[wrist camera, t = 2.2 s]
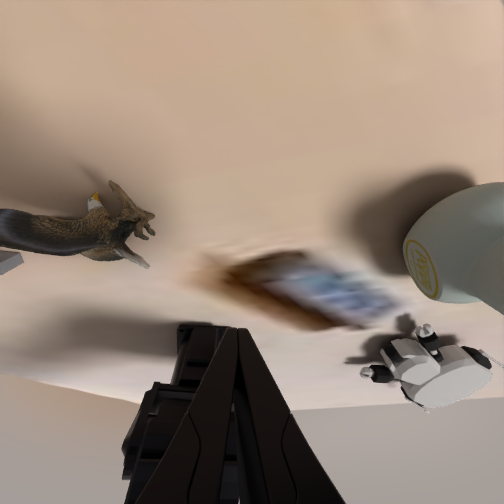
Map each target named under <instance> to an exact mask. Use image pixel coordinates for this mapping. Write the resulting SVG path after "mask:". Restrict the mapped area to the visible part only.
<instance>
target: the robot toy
mask: <svg viewBox="0 0 504 504" xmlns="http://www.w3.org/2000/svg"><path fill="white" fill-rule="evenodd" d="M423 326H424V327H423V328H421V326H419V327H417V328H416V332H415V333H416V335H417V338H418V340H419V342H420V343H418V342H417V341H416V340H411V339H406V338H403V339H401V340H400V339H396V340H393V341H391V343H392V345H391V344H389V345H387V346H385V348H384V350H383V348H382V349H381V351H380V353H381V355H382V356H383V359H384V361H385V363H386V364H387V366H388V368H387V367H386V366H384V365H371V366H370V367H363V368H362V370H361V372H360V376H361V377H362V378H365V379H368V378H371V379H372V380H373V382H376V383H388V382H389V381H391V380H392V379H394V378H397V379H399V381H400V383H401V385H402V386H401V390H402V392H403V393H404V395H405V398H406V400H408V401H409V402H410V401H411V402H412V403H414V404H416V405H417V406H418V407H420V408H421V409H423V410H424V411H425V412H426V413H429V411H428V410H427V409H425V408H423V407H422V406H427V407H429V408H435V407H443V406H446V405H449V404H452V403H454V402H457V401H459V400H461V399H464V398H466V397H468V396H470V395H471V394H473V393H475V392H476V391H478V390H479V389H481V388H482V387H483V386H484V385H486V384H487V383H488V382H489V381H490V379H491V377H492V375H493V374H492V372H491V370H490V368H491V367H492V365H491V363H490V361H489V359H488V358H490V359H491V360H493V361H494V362H496V363H497V364H499V365H500V366H502V367H503V368H504V365H503V364H500V363H499V362H498V361H496V360H495V359H493V358H492V357H490V356H489V355H488V354H486V353H485V352H484V351H483V350H481V349H480V350H476V349H474V348H470V347H466V346H462V347H459V346H457V345H449V346H443V347H441V344H440V342H439V339H438V337H437V335H436V334H435V332H434V330H433V328H432V327H431V325H429V324H424V325H423ZM486 356H487V357H488V358H487V357H486ZM421 405H422V406H421Z"/></svg>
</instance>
